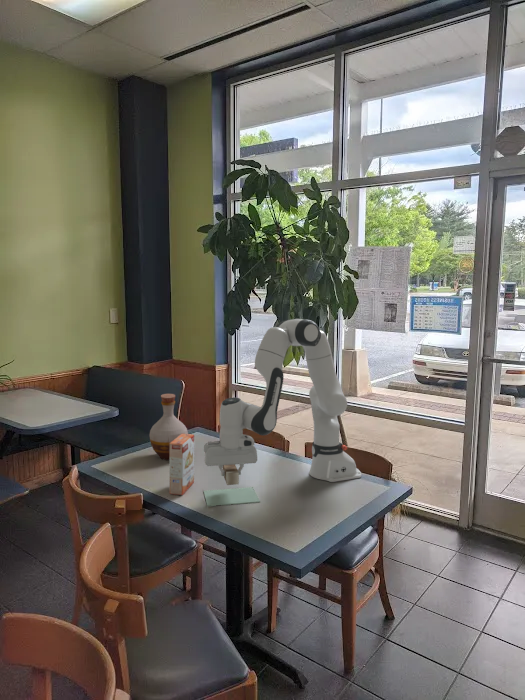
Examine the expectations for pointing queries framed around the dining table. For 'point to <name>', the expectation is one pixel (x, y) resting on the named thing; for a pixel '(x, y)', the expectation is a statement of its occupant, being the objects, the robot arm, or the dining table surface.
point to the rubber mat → (231, 496)
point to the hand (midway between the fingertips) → (231, 475)
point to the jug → (166, 428)
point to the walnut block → (231, 474)
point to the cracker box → (181, 463)
